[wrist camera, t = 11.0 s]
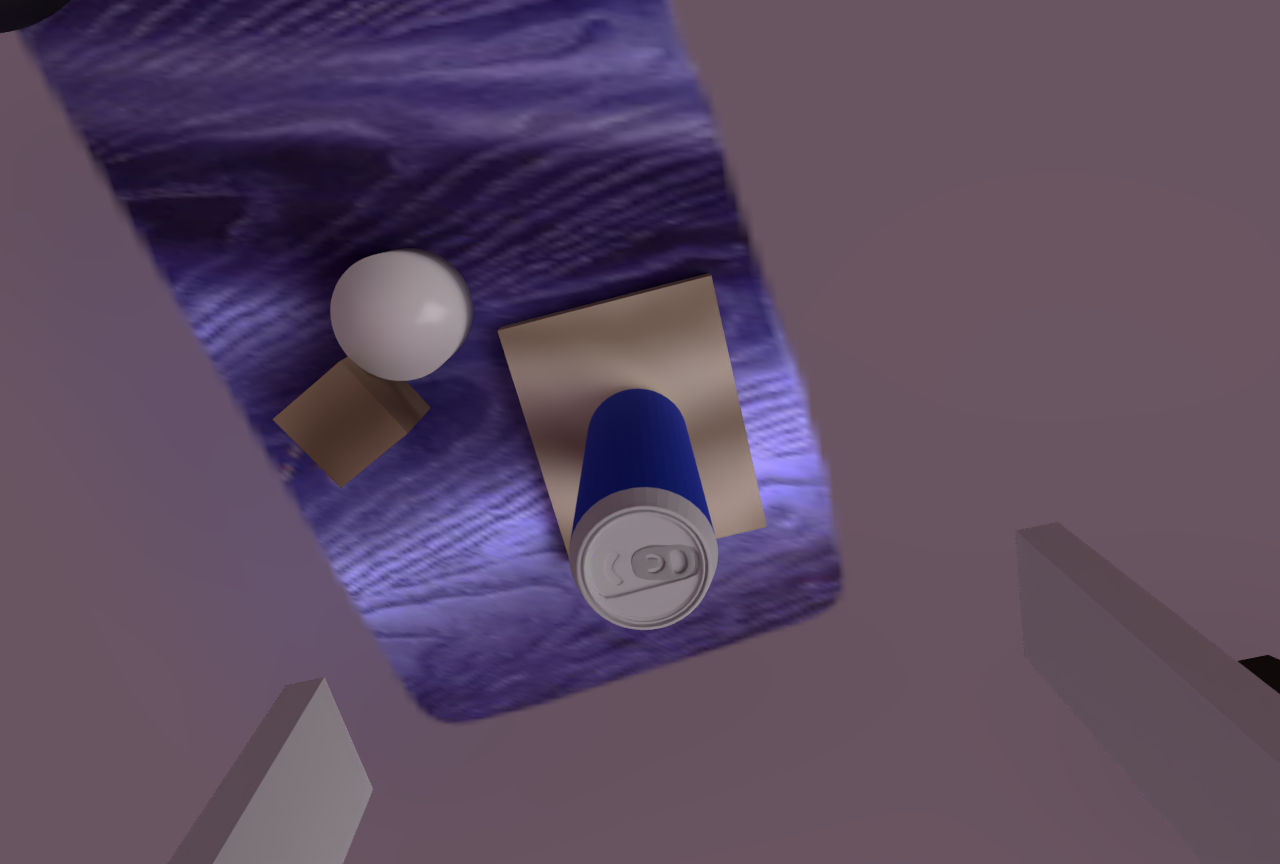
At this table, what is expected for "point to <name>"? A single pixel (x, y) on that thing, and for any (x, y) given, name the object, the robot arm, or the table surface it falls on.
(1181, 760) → the robot arm
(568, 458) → the board
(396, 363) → the pale pink rounded block
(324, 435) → the walnut block
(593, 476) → the beverage can
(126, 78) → the table surface
